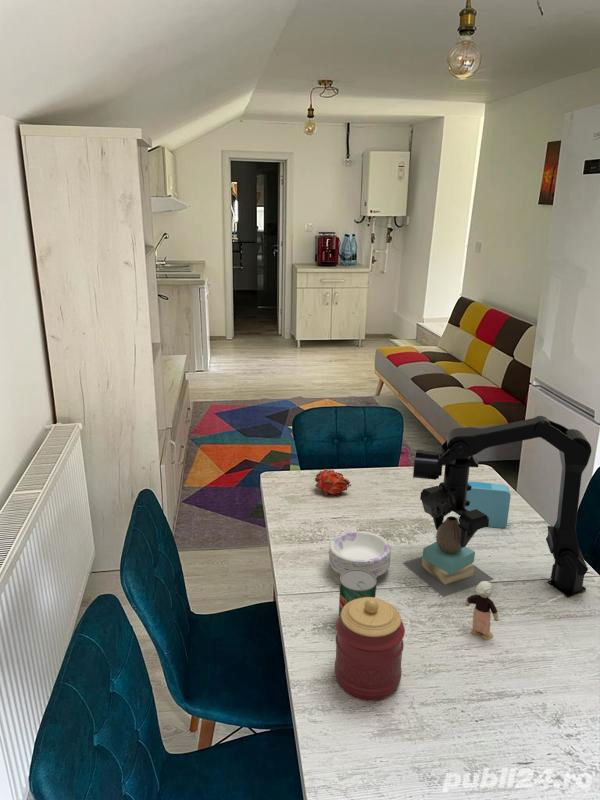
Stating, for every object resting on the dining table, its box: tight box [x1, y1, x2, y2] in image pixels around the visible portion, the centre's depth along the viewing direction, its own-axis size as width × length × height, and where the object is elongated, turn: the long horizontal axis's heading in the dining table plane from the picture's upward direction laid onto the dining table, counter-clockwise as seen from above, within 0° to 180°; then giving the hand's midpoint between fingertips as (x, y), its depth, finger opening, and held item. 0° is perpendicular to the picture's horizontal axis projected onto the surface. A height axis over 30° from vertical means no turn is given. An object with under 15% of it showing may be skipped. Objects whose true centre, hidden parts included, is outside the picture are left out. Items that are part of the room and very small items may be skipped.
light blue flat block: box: [465, 481, 512, 529], centre depth 176 cm, size 12×4×12 cm, turn 79°
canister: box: [334, 597, 406, 701], centre depth 116 cm, size 13×13×18 cm
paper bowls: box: [328, 530, 392, 579], centre depth 152 cm, size 15×15×8 cm
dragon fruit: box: [314, 468, 352, 497], centre depth 195 cm, size 8×8×12 cm
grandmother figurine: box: [464, 581, 500, 641], centre depth 130 cm, size 8×4×13 cm, turn 59°
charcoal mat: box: [402, 556, 494, 598], centre depth 153 cm, size 16×16×1 cm
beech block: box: [421, 555, 475, 585], centre depth 153 cm, size 9×9×3 cm
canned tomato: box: [338, 569, 377, 617], centre depth 133 cm, size 8×8×11 cm
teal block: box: [422, 541, 476, 575], centre depth 152 cm, size 9×9×3 cm
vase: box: [435, 515, 462, 554], centre depth 150 cm, size 7×7×9 cm
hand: (450, 538), depth 150 cm, fingers open, 9 cm apart
